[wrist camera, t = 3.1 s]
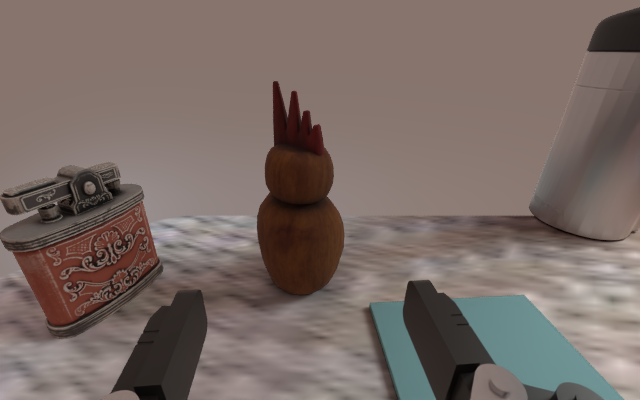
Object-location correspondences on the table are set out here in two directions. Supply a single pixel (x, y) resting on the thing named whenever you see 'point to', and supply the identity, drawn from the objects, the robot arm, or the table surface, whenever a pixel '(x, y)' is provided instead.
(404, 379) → the mat
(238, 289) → the table surface
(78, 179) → the lighter
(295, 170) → the wooden figurine
